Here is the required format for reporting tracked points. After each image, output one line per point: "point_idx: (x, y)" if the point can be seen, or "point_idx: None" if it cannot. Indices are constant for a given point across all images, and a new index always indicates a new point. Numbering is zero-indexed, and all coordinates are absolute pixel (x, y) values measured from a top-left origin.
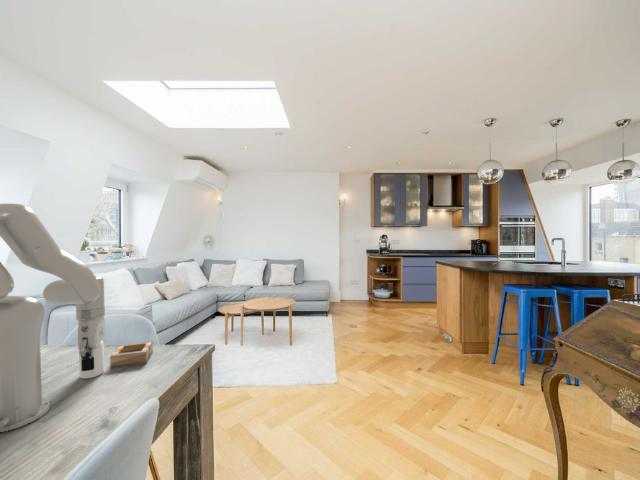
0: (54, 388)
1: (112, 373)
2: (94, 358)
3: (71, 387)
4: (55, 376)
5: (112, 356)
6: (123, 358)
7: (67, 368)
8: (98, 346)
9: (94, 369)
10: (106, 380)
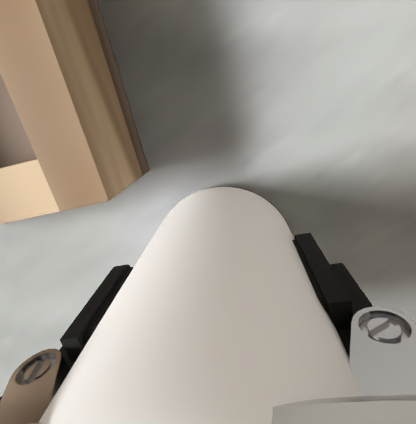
0: None
1: (226, 110)
2: (308, 287)
3: (386, 271)
4: None
5: (102, 179)
6: (84, 68)
7: None
8: (362, 404)
9: (285, 230)
10: (350, 85)
